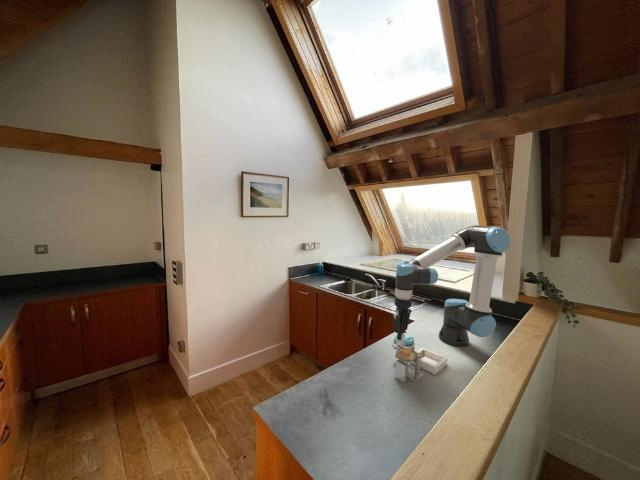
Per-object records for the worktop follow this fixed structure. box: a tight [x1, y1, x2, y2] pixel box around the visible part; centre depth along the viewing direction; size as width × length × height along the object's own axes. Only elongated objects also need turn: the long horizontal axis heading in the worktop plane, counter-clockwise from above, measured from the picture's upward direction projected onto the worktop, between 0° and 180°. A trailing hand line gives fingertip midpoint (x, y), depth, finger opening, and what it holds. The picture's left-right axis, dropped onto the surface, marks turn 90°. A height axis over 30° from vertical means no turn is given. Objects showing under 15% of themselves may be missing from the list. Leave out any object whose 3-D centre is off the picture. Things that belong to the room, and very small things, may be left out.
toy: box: [392, 334, 415, 348], centre depth 142 cm, size 10×5×15 cm
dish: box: [409, 347, 448, 376], centre depth 123 cm, size 12×12×4 cm
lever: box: [391, 344, 425, 364], centre depth 117 cm, size 15×14×3 cm
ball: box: [402, 349, 410, 356], centre depth 112 cm, size 3×3×3 cm
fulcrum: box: [394, 358, 424, 384], centre depth 114 cm, size 11×10×8 cm
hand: (399, 345), depth 124 cm, fingers closed
